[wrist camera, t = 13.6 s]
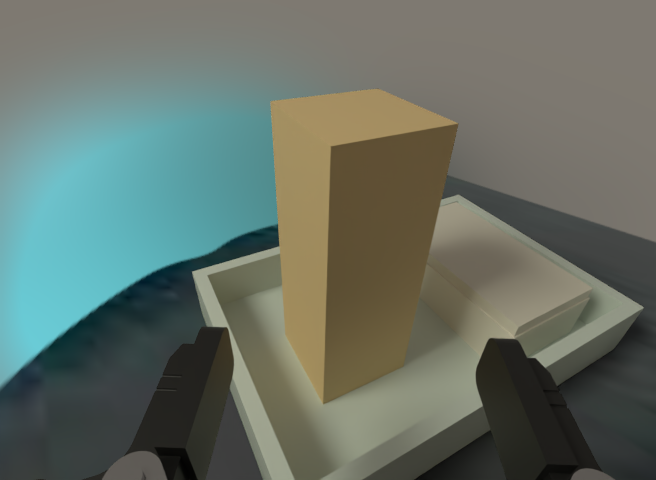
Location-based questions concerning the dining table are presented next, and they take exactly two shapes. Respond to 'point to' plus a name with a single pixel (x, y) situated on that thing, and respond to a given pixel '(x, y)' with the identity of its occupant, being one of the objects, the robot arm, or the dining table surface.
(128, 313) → the dining table surface
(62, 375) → the dining table surface
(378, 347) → the juice carton
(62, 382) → the dining table surface
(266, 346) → the tray
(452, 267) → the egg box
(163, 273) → the dining table surface
